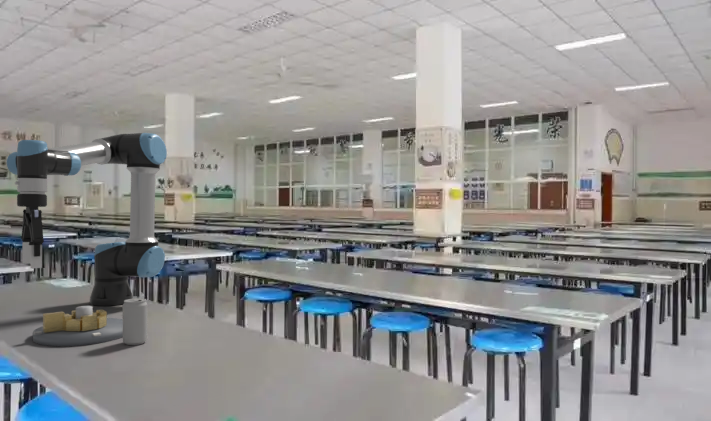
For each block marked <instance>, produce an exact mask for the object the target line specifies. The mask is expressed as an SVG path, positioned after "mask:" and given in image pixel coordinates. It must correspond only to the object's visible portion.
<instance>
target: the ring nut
mask: <svg viewBox="0 0 711 421" xmlns="http://www.w3.org/2000/svg"><path fill="white" fill-rule="evenodd" d="M107 314H108V313H107V310H104V309H96V310H95V312H94V311H93V315H85V316H81V319H76V309H75V310H71V314H69V313H65V311H56V312H46V313H42V326H43V332H44V333H47V332H54V331H61V330H64V331H87V330H94V329H99V328H102V327H104V326H106V325H107V318H108V316H107Z"/></svg>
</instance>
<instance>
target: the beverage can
mask: <svg viewBox="0 0 711 421" xmlns="http://www.w3.org/2000/svg"><path fill="white" fill-rule="evenodd" d="M122 319H123V337H122V342H123V343H124V344H125V345H126V346H137V345H138V346H139V345H143V344H145V343H146V341H147V340H148V302H147V299H146V298H133V299H128V300H124V304H122Z"/></svg>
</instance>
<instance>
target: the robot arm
mask: <svg viewBox="0 0 711 421" xmlns="http://www.w3.org/2000/svg"><path fill="white" fill-rule="evenodd" d="M167 156H168V151H167V146H166V144H165V142H164V140H163V138H161V136H160V135H158V134H156V133H152V132H138V133H120V134H116V135H110V136H107V137H106V136H105V137H102V138H95V139H93V140H92V141H91V142H85V143H77V144H72V145H71V144H70V145H63V146H57V147H55V146H54V147H48V143H47V142H46V141H44V140H37V139H21V140H20V141H18V142H17V150H16V151H13V152H11V153H9V155H8V156H7V158H6V167H7V170H8V171H9V173H11V174H13V175H15V176H17V177H16V178H17V180H16V181H15V182H14V185H16V188H17V189H16V191H17V192H18V194H17V195H16V205H17V207H21V208H23V207H24V209H23V210H22V214H23V215H22V216H23V217H22V226H21V238H20V239H21V241H22V254H21V255H22V262H21V263H22V265H30V269H42V268H43V244H44V243H45V240H44V233H43V232H44V231H43V222H42V213H43V211H42V210H41V209H39V208H44V207H47V206H48V195H47V194H46V193H47V192H48V176H64V177H65V176H75V175H78V173H79V172H80V170H81V168H82V166H86V165H88V166H89V165H92V164H98V165H108V164H109V165H110V164H111V165H112V164H113V165H117V164H118V165H126V169H127V170H128V171H129V172H130V205H129V206H130V208H129V210H130V213H129V237H128V238H127V239H125V241H117V242H108V243H106V242H105V243H100V244H97V245H96V246H95V248H94V254H93V257H94V258H93V259H94V261H93V262H94V285H93V287H92V290H91V293H90V295H89V305H90V306H98V307H99V306H102V307H106V306H108V307H109V306H121V305H123V304H124V300H128V299H134V298H133V297H134V296H133V293H132V289H131V286H130V283H129V277H137V278H152V277H155V276H157V275H158V274H159V273H160V272H161V271H162V268H164V264H165V262H166V261H165V260H166V255H165V251H164V249H163V248H162V247H160V246H159V240H157V238H156V236H155V220H156V219H155V215H156V214H155V212H156V211H155V208H156V203H155V202H156V174H157V173H158V172H159V171H160V169H161V167H160V166H161V165H162V164H163V163H164V162H165V161H166V159H167Z"/></svg>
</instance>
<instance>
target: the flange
mask: <svg viewBox="0 0 711 421" xmlns="http://www.w3.org/2000/svg"><path fill="white" fill-rule="evenodd" d="M93 308H94V306H93V305H81V306H76V307H75V310H76V319H81V316H85V315H93V312H94V310H93ZM119 339H123V318H116V317H115V318H113V317H107V325H106V326H104V327H102V328H99V329H94V330H87V331H64V330H61V331H54V332H47V333H44V332H43V325H42V326H39V327H37V328H35V329H34V330H33V331H32V341H33V343H35V344H37V343H38V344H37V345H41V344H42V345H41V346H47V345H48V347H49V346H50V347H76V346H77V347H78V346H88V345H94V344H95V345H96V344H101V343H107V342H111V341H115V340H116V341H117V340H119Z"/></svg>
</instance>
